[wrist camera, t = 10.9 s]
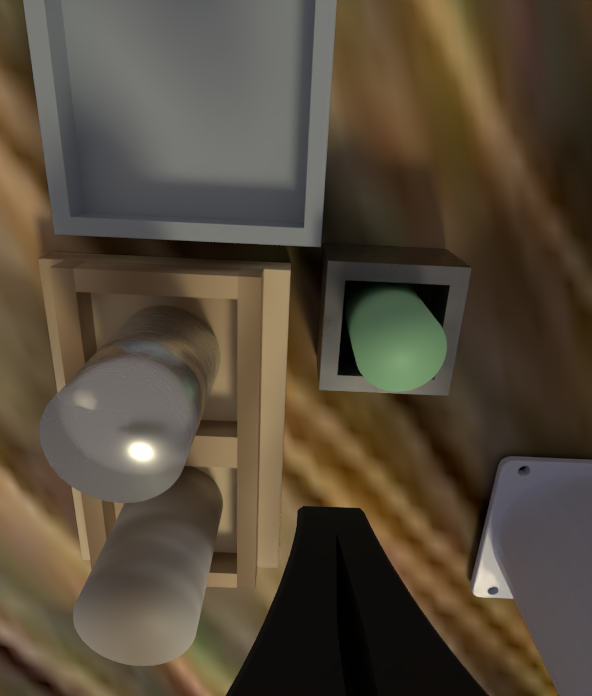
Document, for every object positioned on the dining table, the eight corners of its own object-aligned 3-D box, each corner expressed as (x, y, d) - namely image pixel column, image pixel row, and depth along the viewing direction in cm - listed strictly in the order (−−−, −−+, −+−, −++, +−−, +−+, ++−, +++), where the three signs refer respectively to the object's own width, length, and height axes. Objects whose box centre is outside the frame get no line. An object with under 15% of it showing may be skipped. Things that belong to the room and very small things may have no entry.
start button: (421, 274, 19) (453, 309, 15) (412, 344, 20) (439, 393, 16) (347, 271, 19) (359, 304, 15) (341, 341, 20) (350, 389, 16)
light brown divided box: (291, 262, 19) (285, 327, 12) (278, 548, 24) (270, 701, 18) (53, 251, 19) (-81, 310, 12) (92, 540, 24) (14, 691, 18)
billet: (220, 309, 19) (185, 384, 13) (220, 404, 20) (188, 507, 15) (111, 302, 18) (29, 374, 13) (119, 398, 20) (49, 498, 15)
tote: (337, -60, 15) (342, -85, 14) (319, 237, 19) (321, 246, 17) (41, -76, 15) (9, -103, 14) (76, 225, 19) (54, 234, 17)
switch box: (446, 249, 19) (471, 267, 16) (428, 361, 21) (448, 395, 18) (323, 243, 19) (328, 260, 16) (316, 356, 21) (318, 389, 18)
